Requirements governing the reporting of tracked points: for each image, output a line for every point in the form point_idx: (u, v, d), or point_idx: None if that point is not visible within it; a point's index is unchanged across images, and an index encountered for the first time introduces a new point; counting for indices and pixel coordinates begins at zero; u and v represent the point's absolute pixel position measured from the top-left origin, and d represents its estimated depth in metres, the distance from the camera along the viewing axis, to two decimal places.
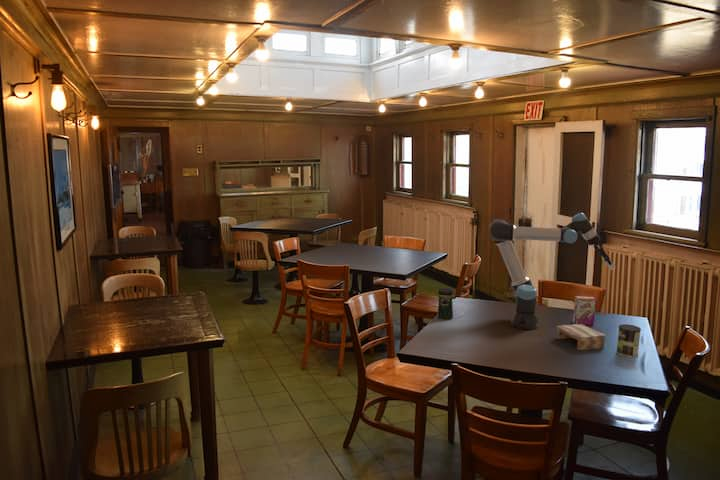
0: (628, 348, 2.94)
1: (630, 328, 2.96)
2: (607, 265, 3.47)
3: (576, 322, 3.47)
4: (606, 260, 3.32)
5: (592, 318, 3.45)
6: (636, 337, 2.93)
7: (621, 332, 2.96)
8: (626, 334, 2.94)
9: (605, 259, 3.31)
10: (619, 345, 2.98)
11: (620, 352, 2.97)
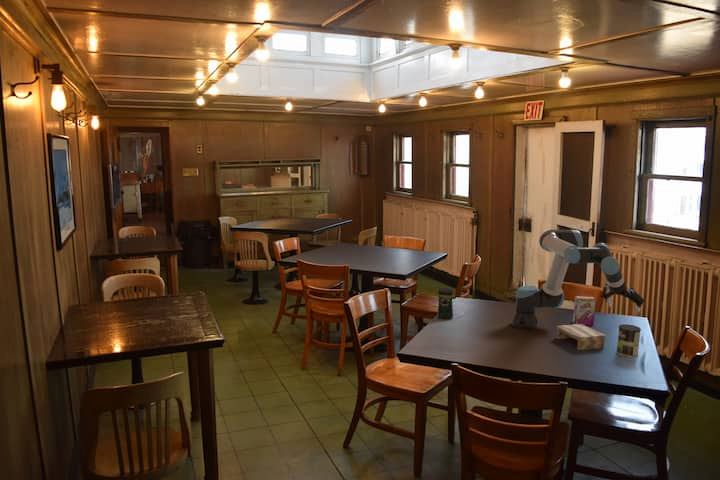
0: (628, 348, 2.94)
1: (630, 328, 2.96)
2: None
3: (576, 322, 3.47)
4: None
5: (592, 318, 3.45)
6: (636, 337, 2.93)
7: (621, 332, 2.96)
8: (626, 334, 2.94)
9: None
10: (619, 345, 2.98)
11: (620, 352, 2.97)
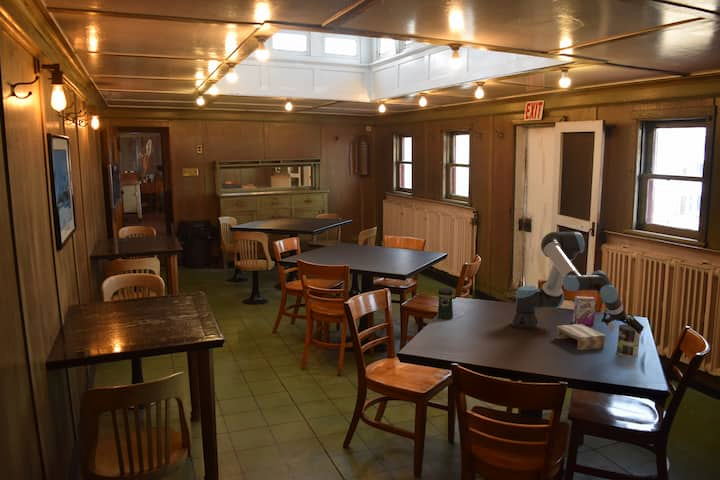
0: (628, 348, 2.94)
1: (630, 328, 2.96)
2: (639, 333, 2.88)
3: (576, 322, 3.47)
4: None
5: (592, 318, 3.45)
6: (636, 337, 2.93)
7: (621, 332, 2.96)
8: (626, 334, 2.94)
9: None
10: (619, 345, 2.98)
11: (620, 352, 2.97)
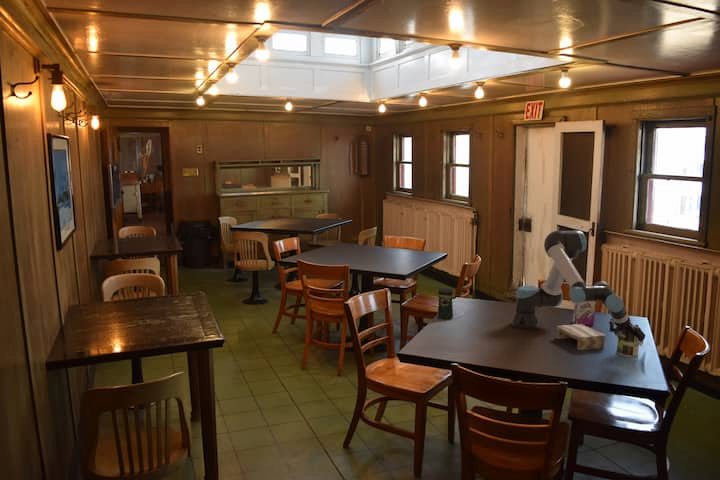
0: (628, 348, 2.94)
1: None
2: None
3: (576, 322, 3.47)
4: (615, 329, 3.02)
5: (592, 318, 3.45)
6: (636, 337, 2.93)
7: (621, 332, 2.96)
8: (626, 334, 2.94)
9: None
10: (619, 345, 2.98)
11: (620, 352, 2.97)
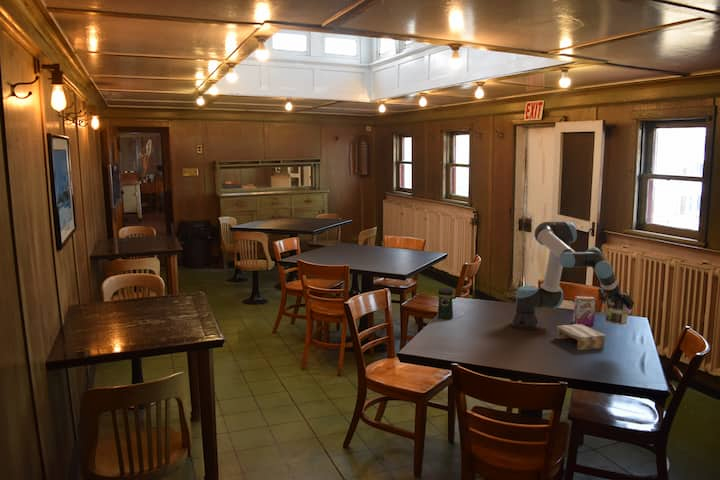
0: (617, 316, 2.95)
1: None
2: None
3: (576, 322, 3.47)
4: (604, 298, 3.02)
5: (592, 318, 3.45)
6: None
7: (610, 300, 2.97)
8: (615, 301, 2.94)
9: None
10: (608, 313, 2.98)
11: (609, 320, 2.98)
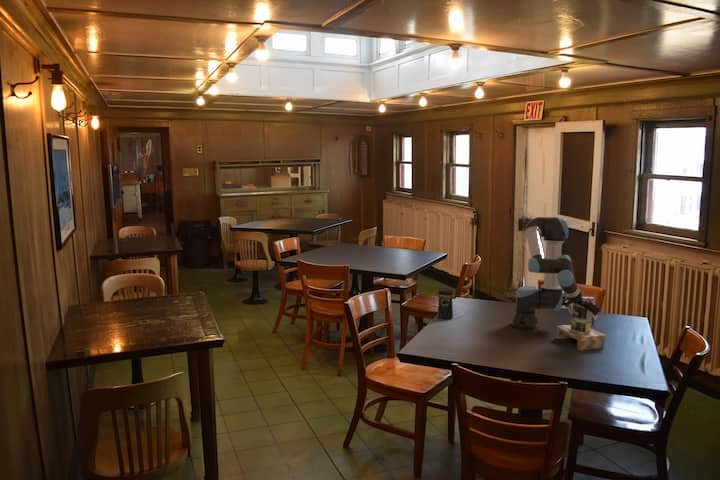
0: (581, 325, 3.08)
1: None
2: (596, 315, 3.10)
3: None
4: None
5: (592, 318, 3.45)
6: (588, 314, 3.07)
7: (574, 310, 3.10)
8: (578, 311, 3.08)
9: None
10: (573, 322, 3.12)
11: (573, 329, 3.11)
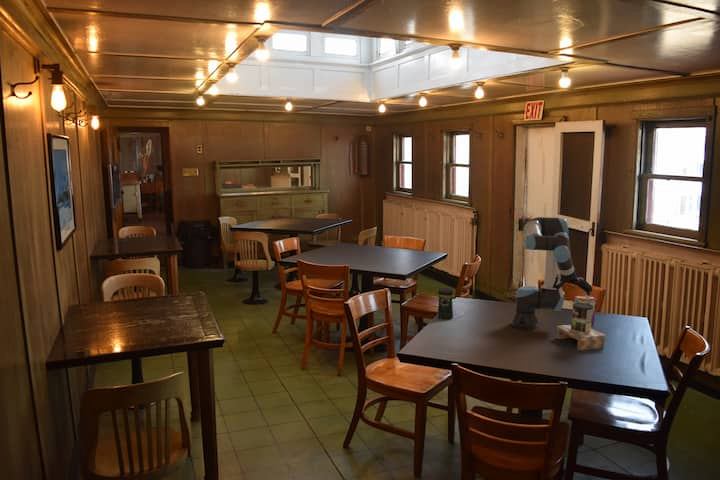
0: (581, 325, 3.08)
1: (583, 306, 3.10)
2: None
3: None
4: None
5: (592, 318, 3.45)
6: (588, 314, 3.07)
7: (574, 310, 3.10)
8: (579, 311, 3.08)
9: (553, 284, 3.11)
10: (573, 322, 3.12)
11: (573, 329, 3.11)
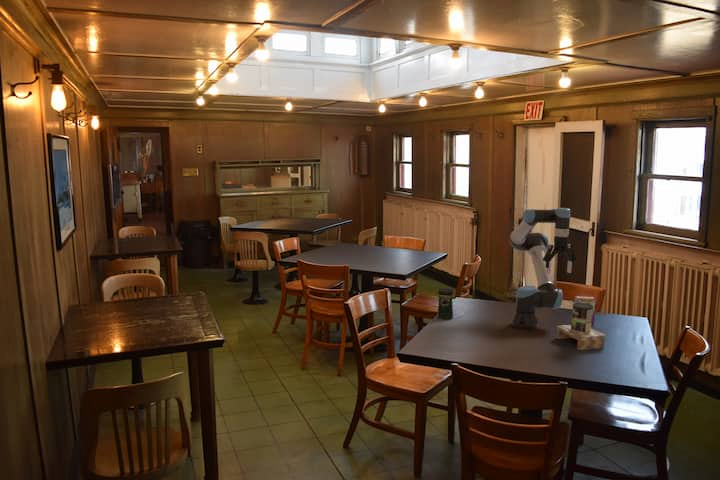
0: (581, 325, 3.08)
1: (583, 306, 3.10)
2: (567, 271, 3.29)
3: None
4: (546, 261, 3.24)
5: (592, 318, 3.45)
6: (588, 314, 3.07)
7: (574, 310, 3.10)
8: (579, 311, 3.08)
9: (542, 259, 3.23)
10: (573, 322, 3.12)
11: (573, 329, 3.11)
